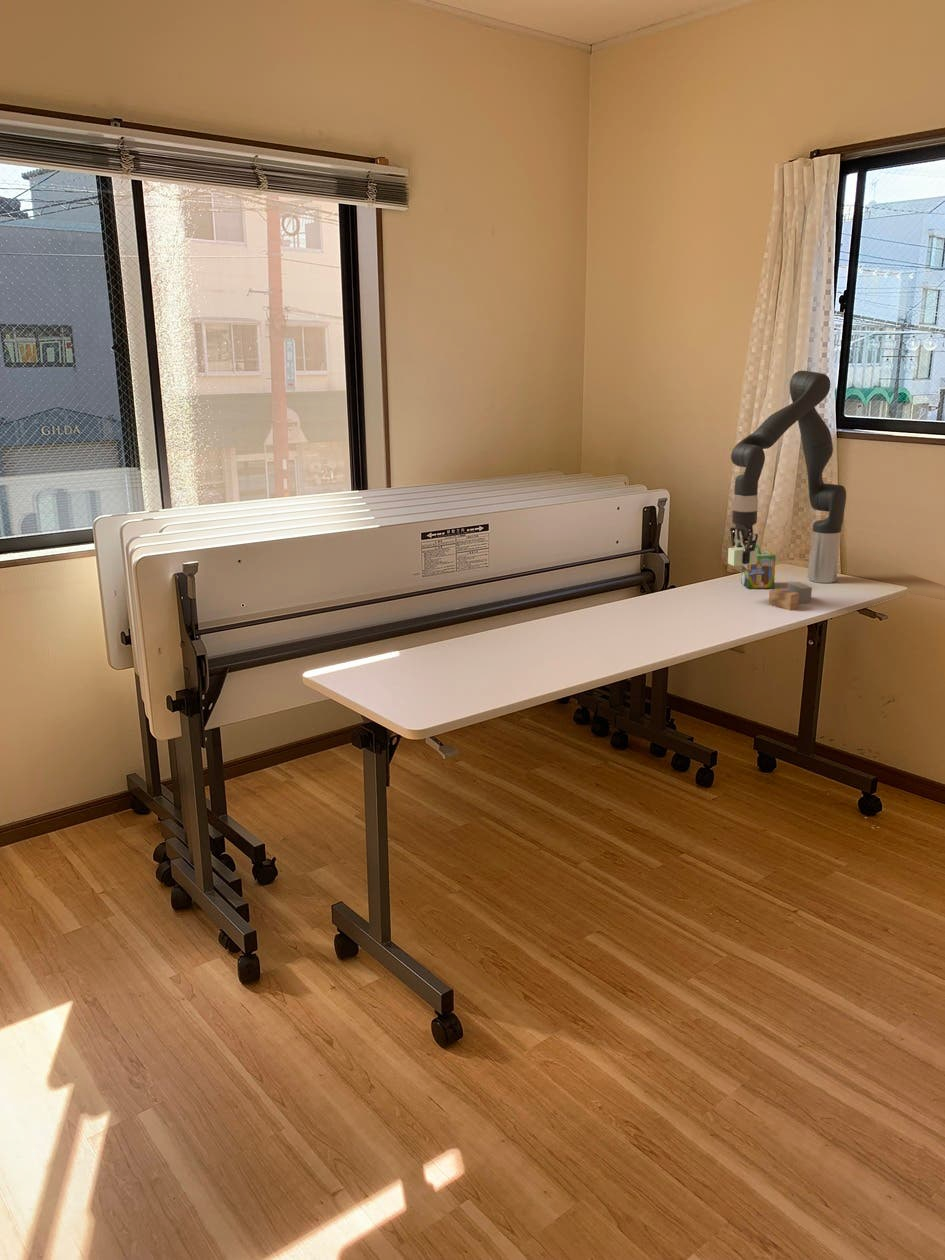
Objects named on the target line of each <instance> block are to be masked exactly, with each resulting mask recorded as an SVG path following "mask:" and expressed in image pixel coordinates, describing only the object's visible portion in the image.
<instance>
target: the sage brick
mask: <svg viewBox="0 0 945 1260" xmlns="http://www.w3.org/2000/svg"><path fill="white" fill-rule="evenodd" d="M751 547H752V545H751ZM757 551H758V547H757V548H755V550H754V551H751V552H750V562H749V564H743V563H742V557H743V547H735V548H734V547H728V551H727V552H728V554H727V564H728V565H730V566H733V567H737V566H742V565H751V564H757Z"/></svg>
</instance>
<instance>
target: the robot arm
mask: <svg viewBox="0 0 945 1260" xmlns="http://www.w3.org/2000/svg"><path fill="white" fill-rule="evenodd" d="M830 391H831V380H830V378H829V376H828V375H826V374H825V373H822V372H816V371H811V370H810V371H809V370H798V371H796V372H794V373H793V374H792V376H791V378H790V381H789V394H790V398H791V402H792V403H790V404H788V405H786V406H785V407H783V408H780V409H779V410H777V411H776V412H773V413H772V414H771V415H769V416H768V417H767V418H766V419H765V420H764V421H762V423H761V424H760V425H759V426H758V427H757V428H756V430H755V431H753V432H751V433H750V434H749V435H747V436H746V437H744V438H743V439H742V440H740V441H739V442H738V443H737V444H736V445H735V446H734V447H733V449H732V451H731V455H730V459H731V462H732V463H733V465H735V466H737V467H742V468H744V472H743V474H741V475H737V476H736V477H735V481H734V490H733V491H734V494H733V500H732V501H733V502H732V515H731V522H732V524H733V525H735V526H734V527H730V528H729V530H730V531H729V532H730V539H731V541H730V542H731V546H732V547H733V548H735V547H743V557H742V563H743V564H749V562H750V552H751V551H754V550H755V546H756V543H757V542H758V538H759V535H758V533H754V529H753V527H754V525H756V524H757V522H758V509H759V507H758V504H759V500H758V499H759V498H758V491H759V481H760V477H761V475H762V470H763V468H764V465H765V460H766V455H765V449H770V448H771V447H773V446H774V445H775V444H776V443H777V441H779V439H780V438H781V437H782V436H783V434H785V433H786V432H787V430H788V429H790V428H791V427H792V426H793V425H794V424H796V422H798V424H797V425H798V428H799V429H798V430H799V433H800V439H801V445H802V446H801V447H802V451H803V456H804V460H805V461H804V462H805V467H806V472H807V473H806V474H807V486H808V497H809V498H808V500H809V503H810V507H811V508H812V509H813V510H815V511H822V512H828V517H826V518H823V519H821V520H816V521H814V522H813V524H812V531H811V544H810V551H809V554H808V555H809V556H808V566H807V567H808V569H807V570H808V571H807V579H808V580H809V581H811V582H813V583H814V582H815V583H820V584H821V583H822V584H831V583H832V584H833V583H836V582H837V580H838V570H839V558H840V547H841V536H842V535H841V534H842V527H843V522H844V516H845V509H846V503H847V502H846V501H847V490H846V488H845V486H844V485H841V484H834V483H825V482H824V478H823V472H824V470H825V468H826V466H827V465H828V463H829V461H830V460H831V457H832V456H833V452H834V445H833V438H832V434H831V431H830V428H829V426H828V425H827V424H826V422H825V421H824V420H823V417H822V416H821V415H820V414H819V412H818V411H817V409H816V407H817V406H818V405H819V404H821V402H823V400H824V399H826V397H827V396H828V395H829V392H830ZM751 546H752V547H751Z"/></svg>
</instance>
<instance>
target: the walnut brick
mask: <svg viewBox="0 0 945 1260" xmlns="http://www.w3.org/2000/svg"><path fill="white" fill-rule="evenodd" d="M798 602H799V593H796V592H792V591H787V589H783V588H772V589H770V590H769V597H768V606H769V605H771V606H770V607H774V606H775V607H774V608H778V609H783V610H787V611H793V610H797V609H799V603H798Z"/></svg>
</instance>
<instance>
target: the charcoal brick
mask: <svg viewBox="0 0 945 1260" xmlns="http://www.w3.org/2000/svg"><path fill="white" fill-rule="evenodd" d="M812 589H813V588H812V586H810V585H809V586H808V585H807V584H804V583H802V582H800V581H797V582H795V581H794V582H787V589H786V590H787V591H792V592H796V593H799V602H798V604H808V603H809V602H812Z"/></svg>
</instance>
